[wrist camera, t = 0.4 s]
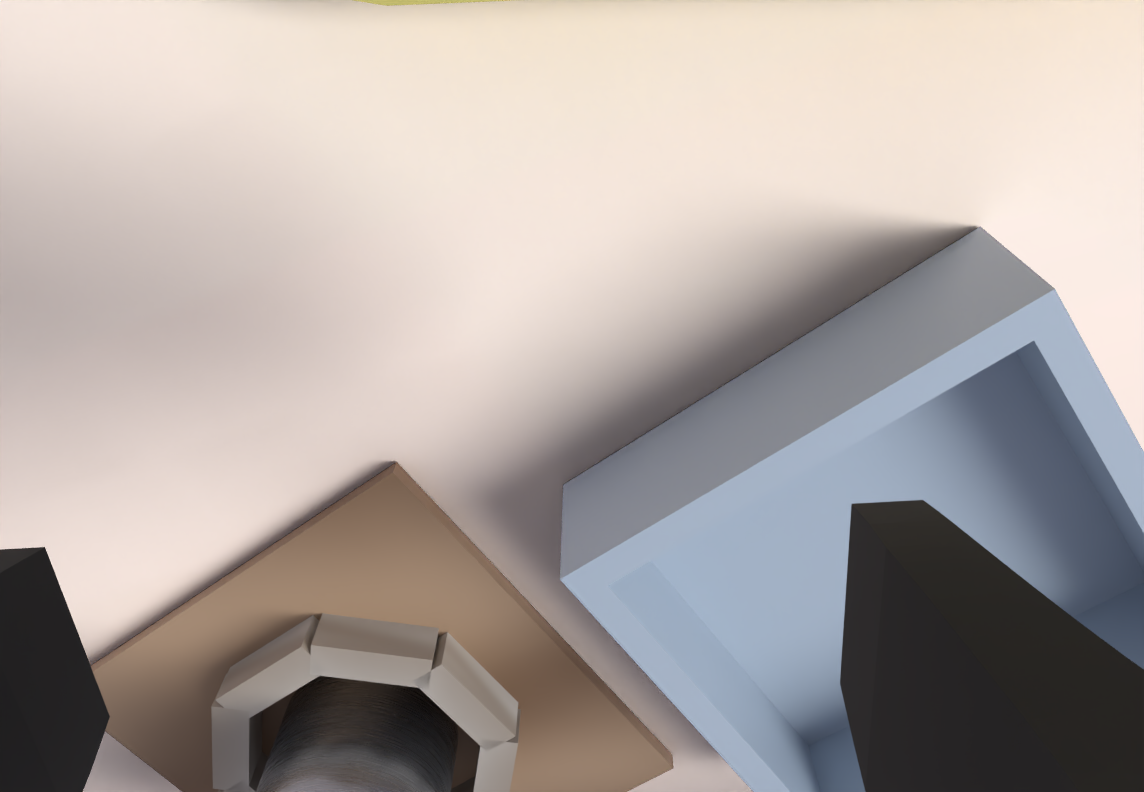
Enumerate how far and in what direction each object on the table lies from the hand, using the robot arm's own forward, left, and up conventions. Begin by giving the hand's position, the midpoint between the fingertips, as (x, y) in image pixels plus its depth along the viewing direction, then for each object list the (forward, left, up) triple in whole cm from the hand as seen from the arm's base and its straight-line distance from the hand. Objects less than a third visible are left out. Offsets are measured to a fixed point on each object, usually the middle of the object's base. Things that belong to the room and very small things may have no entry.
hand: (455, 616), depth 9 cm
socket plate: (-7, +10, -10) cm, 15 cm away
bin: (-9, -2, -10) cm, 14 cm away
